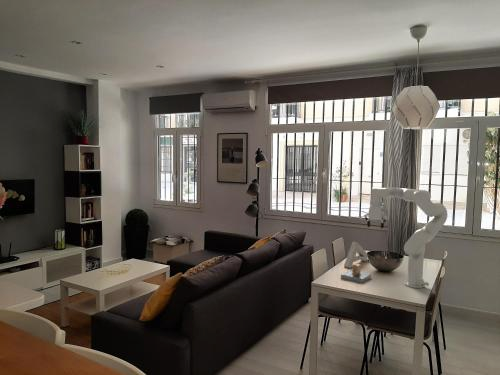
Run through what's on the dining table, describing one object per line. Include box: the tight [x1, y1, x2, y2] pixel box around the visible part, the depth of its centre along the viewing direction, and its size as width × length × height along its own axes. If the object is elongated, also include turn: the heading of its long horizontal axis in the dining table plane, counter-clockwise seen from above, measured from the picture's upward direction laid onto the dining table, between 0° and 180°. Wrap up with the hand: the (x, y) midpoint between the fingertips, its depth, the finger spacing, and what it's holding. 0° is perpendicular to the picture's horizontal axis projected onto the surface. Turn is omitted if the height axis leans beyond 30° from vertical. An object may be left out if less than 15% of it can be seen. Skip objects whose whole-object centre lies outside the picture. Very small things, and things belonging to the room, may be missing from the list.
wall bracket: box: [343, 240, 369, 269], centre depth 320 cm, size 22×4×30 cm
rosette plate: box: [340, 269, 372, 284], centre depth 281 cm, size 16×16×3 cm
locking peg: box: [352, 263, 361, 276], centre depth 281 cm, size 4×4×10 cm
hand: (375, 227), depth 286 cm, fingers open, 9 cm apart
